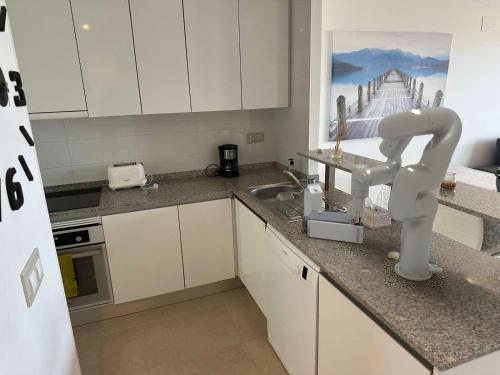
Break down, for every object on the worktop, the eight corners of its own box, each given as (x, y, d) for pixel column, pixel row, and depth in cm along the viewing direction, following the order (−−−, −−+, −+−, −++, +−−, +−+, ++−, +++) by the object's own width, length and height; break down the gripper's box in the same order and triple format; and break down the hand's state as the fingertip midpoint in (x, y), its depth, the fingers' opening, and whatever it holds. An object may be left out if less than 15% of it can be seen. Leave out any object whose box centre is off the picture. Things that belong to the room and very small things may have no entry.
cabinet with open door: (351, 231, 166) (352, 211, 163) (348, 241, 155) (349, 220, 152) (306, 226, 174) (306, 207, 171) (300, 235, 163) (300, 215, 160)
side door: (362, 242, 152) (363, 225, 150) (362, 244, 151) (363, 227, 149) (307, 235, 162) (308, 219, 159) (307, 236, 160) (307, 220, 158)
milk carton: (303, 216, 187) (304, 182, 182) (315, 214, 189) (315, 181, 184) (310, 220, 181) (311, 186, 175) (322, 218, 183) (323, 184, 178)
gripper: (352, 187, 157) (350, 224, 162) (348, 196, 144) (347, 237, 149) (369, 188, 154) (367, 226, 159) (367, 198, 141) (365, 239, 146)
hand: (357, 231), depth 154 cm, fingers closed
